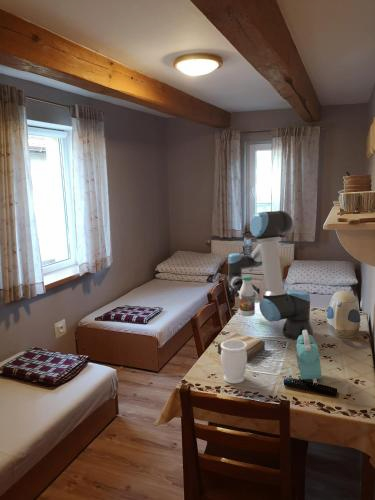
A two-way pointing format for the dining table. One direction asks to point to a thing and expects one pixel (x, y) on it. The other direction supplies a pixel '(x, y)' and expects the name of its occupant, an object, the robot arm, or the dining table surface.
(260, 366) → the dining table surface
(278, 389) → the dining table surface
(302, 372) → the alarm clock
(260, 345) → the walnut stand
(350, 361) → the dining table surface
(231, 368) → the jar
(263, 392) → the dining table surface
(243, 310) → the milk bottle
